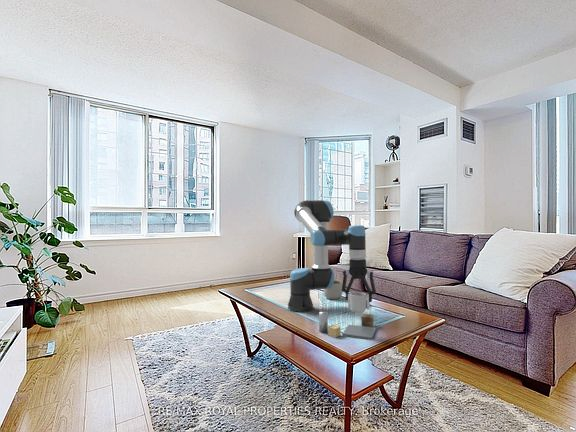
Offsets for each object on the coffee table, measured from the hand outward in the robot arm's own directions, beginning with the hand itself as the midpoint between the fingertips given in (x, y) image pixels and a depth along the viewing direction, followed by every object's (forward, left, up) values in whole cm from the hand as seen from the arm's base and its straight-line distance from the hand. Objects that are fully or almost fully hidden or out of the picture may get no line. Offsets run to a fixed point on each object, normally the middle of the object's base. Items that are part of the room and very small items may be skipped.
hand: (359, 308), depth 139 cm
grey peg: (-16, -4, -11) cm, 20 cm away
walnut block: (+2, +11, -11) cm, 16 cm away
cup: (-1, 0, -1) cm, 2 cm away
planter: (-28, +58, -12) cm, 66 cm away
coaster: (0, 0, -11) cm, 11 cm away
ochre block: (-10, -7, -11) cm, 17 cm away
